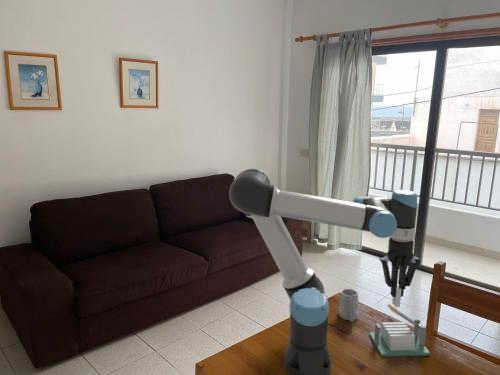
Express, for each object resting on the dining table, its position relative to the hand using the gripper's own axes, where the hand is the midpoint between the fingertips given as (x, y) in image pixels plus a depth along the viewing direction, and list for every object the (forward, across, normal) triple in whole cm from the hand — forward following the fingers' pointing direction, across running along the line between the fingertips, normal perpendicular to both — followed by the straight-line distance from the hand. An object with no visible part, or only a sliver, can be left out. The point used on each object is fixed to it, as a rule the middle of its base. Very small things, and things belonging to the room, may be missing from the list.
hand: (396, 304), depth 129 cm
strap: (+6, +3, 0) cm, 6 cm away
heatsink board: (+15, +2, 0) cm, 15 cm away
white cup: (+15, -10, +17) cm, 25 cm away
